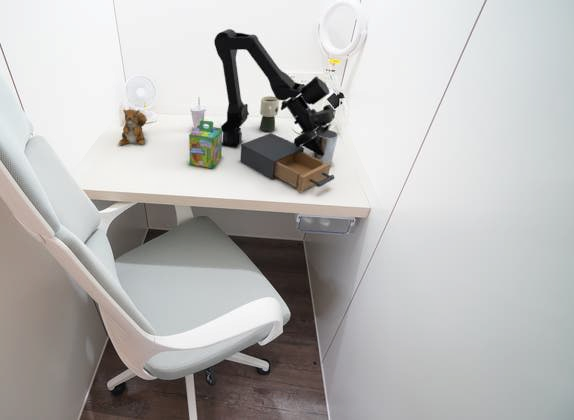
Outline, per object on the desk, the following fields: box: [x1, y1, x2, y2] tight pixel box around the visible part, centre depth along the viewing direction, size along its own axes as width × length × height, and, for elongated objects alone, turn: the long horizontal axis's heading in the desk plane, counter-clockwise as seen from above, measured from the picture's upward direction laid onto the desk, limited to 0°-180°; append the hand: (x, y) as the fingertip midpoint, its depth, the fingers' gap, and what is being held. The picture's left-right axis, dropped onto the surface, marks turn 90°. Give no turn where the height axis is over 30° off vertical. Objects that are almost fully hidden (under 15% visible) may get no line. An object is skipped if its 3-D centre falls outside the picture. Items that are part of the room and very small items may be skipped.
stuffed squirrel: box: [118, 108, 148, 146], centre depth 129 cm, size 10×14×13 cm
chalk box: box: [188, 120, 223, 170], centre depth 112 cm, size 9×9×15 cm
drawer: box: [274, 151, 335, 193], centre depth 102 cm, size 18×13×5 cm
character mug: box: [259, 95, 280, 132], centre depth 132 cm, size 11×7×13 cm, turn 171°
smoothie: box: [189, 96, 207, 130], centre depth 134 cm, size 6×6×14 cm
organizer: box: [239, 132, 305, 180], centre depth 111 cm, size 15×14×7 cm
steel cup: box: [311, 129, 339, 164], centre depth 109 cm, size 7×7×11 cm
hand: (327, 151), depth 109 cm, fingers closed on steel cup, 7 cm apart
